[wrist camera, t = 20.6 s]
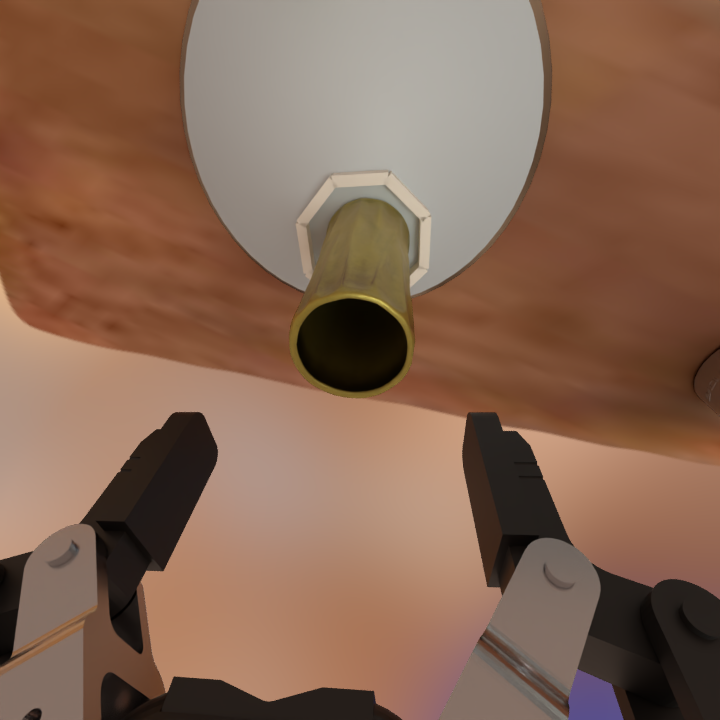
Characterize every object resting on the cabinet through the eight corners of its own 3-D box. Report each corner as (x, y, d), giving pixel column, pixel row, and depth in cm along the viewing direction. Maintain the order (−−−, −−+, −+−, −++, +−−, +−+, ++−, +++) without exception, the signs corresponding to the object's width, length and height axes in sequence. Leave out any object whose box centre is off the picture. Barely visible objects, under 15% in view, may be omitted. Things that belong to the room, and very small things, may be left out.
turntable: (580, -145, 17) (651, -237, 12) (503, 291, 29) (523, 324, 25) (136, -87, 19) (58, -148, 14) (242, 299, 31) (218, 332, 27)
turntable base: (588, -158, 18) (622, -203, 15) (507, 290, 32) (518, 307, 29) (133, -94, 20) (95, -125, 17) (243, 300, 34) (231, 316, 31)
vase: (399, 185, 24) (408, 262, 12) (417, 270, 27) (438, 394, 16) (314, 211, 25) (250, 303, 14) (341, 289, 29) (309, 416, 17)
